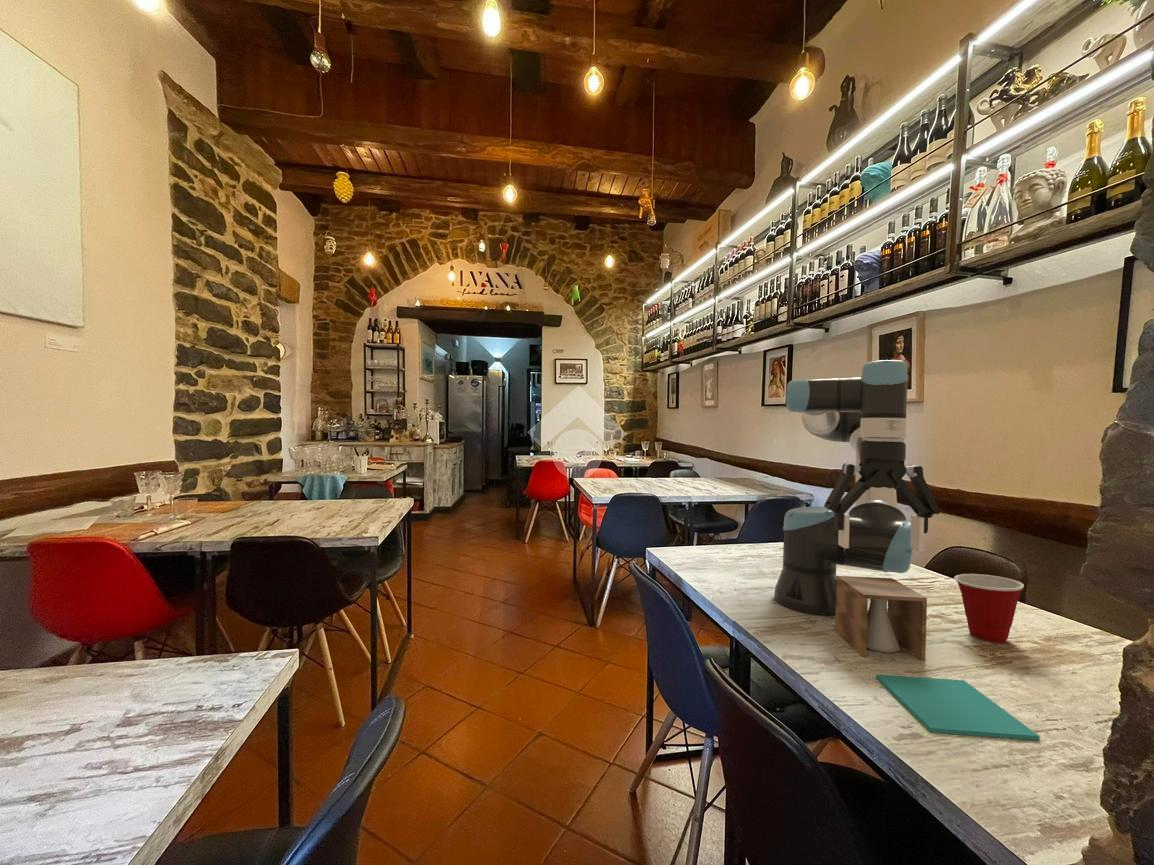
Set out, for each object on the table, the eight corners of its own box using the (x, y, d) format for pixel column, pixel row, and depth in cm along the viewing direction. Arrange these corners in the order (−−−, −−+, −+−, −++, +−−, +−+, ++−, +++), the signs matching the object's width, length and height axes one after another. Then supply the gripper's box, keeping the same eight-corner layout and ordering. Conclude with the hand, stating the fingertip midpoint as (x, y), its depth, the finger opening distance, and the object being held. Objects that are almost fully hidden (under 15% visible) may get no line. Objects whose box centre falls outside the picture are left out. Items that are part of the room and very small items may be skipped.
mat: (875, 678, 78) (875, 674, 78) (964, 683, 77) (964, 680, 77) (930, 732, 65) (930, 727, 65) (1039, 740, 63) (1039, 736, 63)
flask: (908, 654, 87) (910, 602, 87) (869, 653, 87) (871, 601, 87) (884, 637, 94) (885, 588, 94) (848, 636, 94) (849, 587, 94)
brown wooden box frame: (835, 631, 97) (836, 575, 97) (890, 634, 96) (892, 578, 96) (862, 657, 86) (863, 594, 86) (925, 660, 85) (926, 597, 85)
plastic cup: (952, 621, 103) (954, 567, 103) (1019, 635, 96) (1021, 578, 96) (952, 637, 94) (954, 579, 94) (1025, 654, 88) (1027, 592, 87)
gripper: (824, 439, 88) (821, 550, 88) (965, 442, 85) (962, 556, 85) (808, 438, 95) (806, 540, 95) (937, 441, 93) (934, 545, 93)
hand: (879, 548), depth 90 cm, fingers open, 13 cm apart
